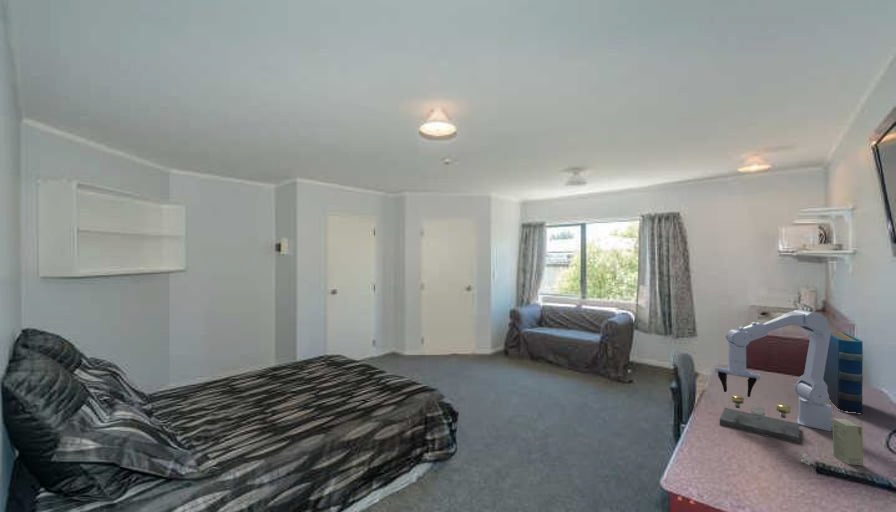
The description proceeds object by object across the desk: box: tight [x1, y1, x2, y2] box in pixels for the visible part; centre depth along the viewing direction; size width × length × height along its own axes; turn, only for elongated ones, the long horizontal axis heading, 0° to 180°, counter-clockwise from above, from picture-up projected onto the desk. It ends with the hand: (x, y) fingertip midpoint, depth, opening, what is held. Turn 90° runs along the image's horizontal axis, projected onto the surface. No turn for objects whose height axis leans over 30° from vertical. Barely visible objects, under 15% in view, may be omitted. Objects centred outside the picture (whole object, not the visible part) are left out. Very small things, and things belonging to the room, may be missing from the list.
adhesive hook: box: [799, 453, 815, 466], centre depth 123 cm, size 3×3×3 cm
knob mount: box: [719, 407, 800, 444], centre depth 149 cm, size 23×15×2 cm, turn 48°
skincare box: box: [832, 417, 864, 466], centre depth 125 cm, size 6×4×12 cm
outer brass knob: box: [730, 394, 745, 409], centre depth 157 cm, size 4×4×4 cm
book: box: [823, 331, 864, 413], centre depth 170 cm, size 24×9×30 cm, turn 148°
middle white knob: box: [750, 405, 766, 420], centre depth 146 cm, size 4×4×4 cm
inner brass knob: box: [775, 403, 791, 419], centre depth 148 cm, size 4×4×4 cm
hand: (736, 393), depth 157 cm, fingers open, 7 cm apart
